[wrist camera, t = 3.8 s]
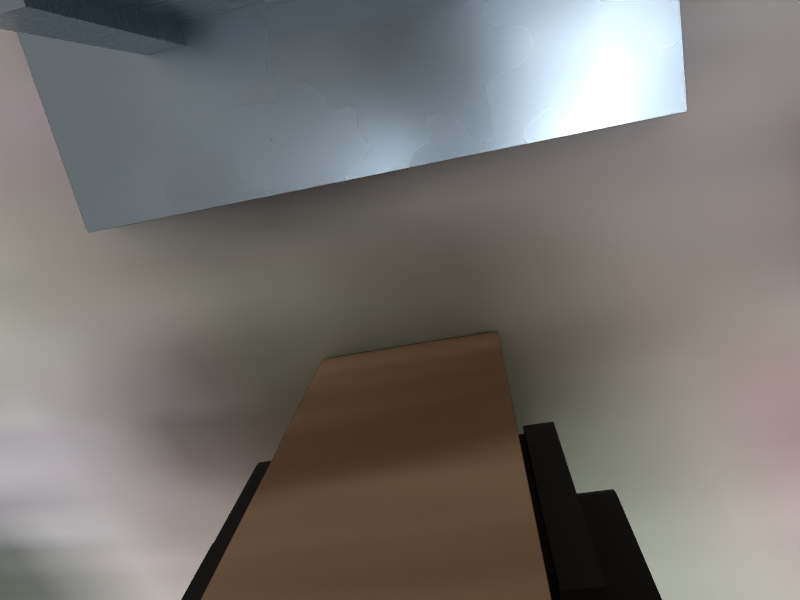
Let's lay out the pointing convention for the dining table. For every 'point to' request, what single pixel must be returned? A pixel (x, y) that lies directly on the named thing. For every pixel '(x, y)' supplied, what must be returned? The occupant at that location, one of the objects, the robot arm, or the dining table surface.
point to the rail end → (394, 487)
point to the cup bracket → (324, 88)
